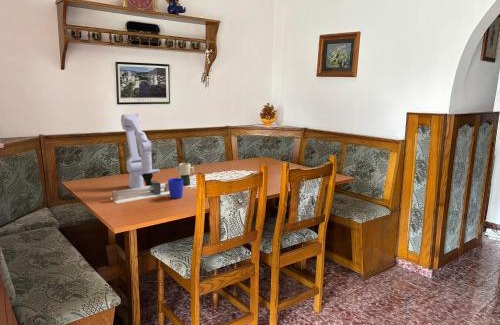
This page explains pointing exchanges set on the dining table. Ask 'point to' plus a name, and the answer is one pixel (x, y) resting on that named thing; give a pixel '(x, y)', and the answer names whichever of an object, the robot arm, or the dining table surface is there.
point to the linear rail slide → (118, 197)
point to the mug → (175, 187)
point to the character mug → (185, 172)
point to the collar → (156, 187)
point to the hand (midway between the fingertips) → (147, 186)
